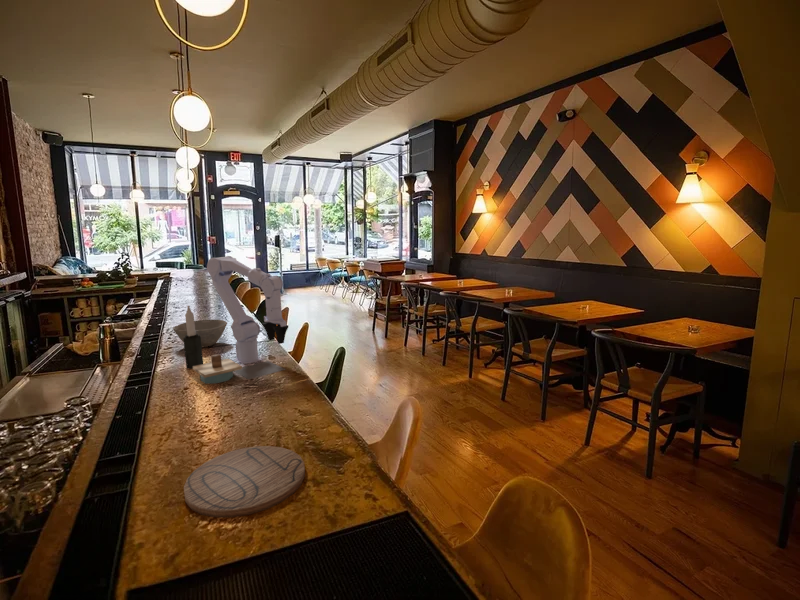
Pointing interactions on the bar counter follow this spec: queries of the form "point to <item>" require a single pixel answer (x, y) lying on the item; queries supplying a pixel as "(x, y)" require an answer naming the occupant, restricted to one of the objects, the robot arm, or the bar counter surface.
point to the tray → (259, 370)
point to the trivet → (244, 481)
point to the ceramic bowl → (204, 331)
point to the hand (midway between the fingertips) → (276, 341)
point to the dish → (217, 378)
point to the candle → (192, 343)
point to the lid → (216, 366)
